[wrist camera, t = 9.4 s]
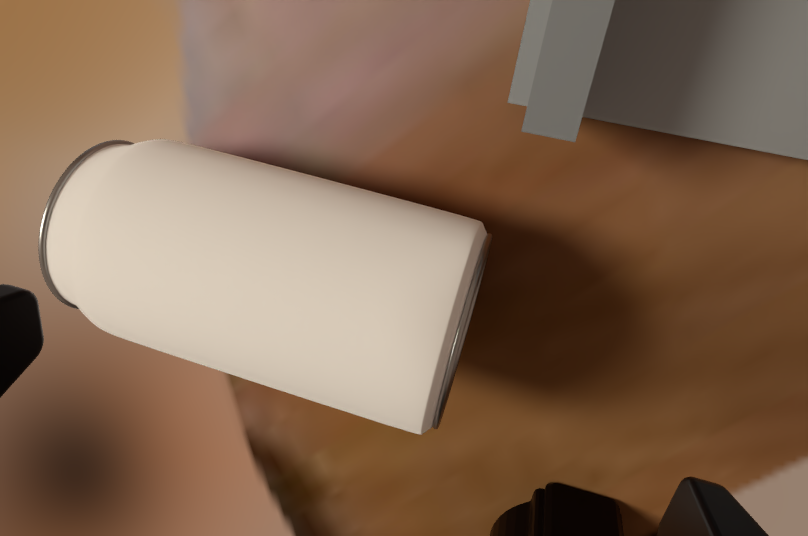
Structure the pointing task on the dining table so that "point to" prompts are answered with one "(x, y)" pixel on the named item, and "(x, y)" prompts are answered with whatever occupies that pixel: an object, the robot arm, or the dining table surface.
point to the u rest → (669, 69)
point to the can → (268, 274)
